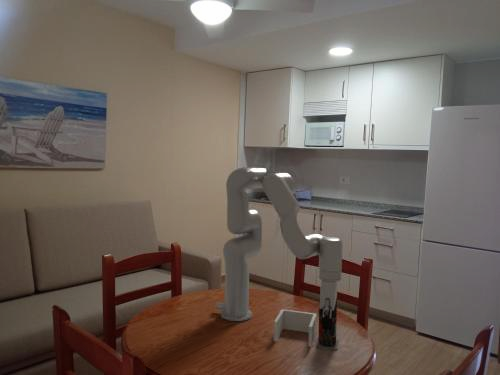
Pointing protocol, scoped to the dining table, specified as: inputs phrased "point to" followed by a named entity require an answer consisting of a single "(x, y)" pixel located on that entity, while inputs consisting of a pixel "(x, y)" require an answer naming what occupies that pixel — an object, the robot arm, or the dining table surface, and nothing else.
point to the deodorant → (327, 336)
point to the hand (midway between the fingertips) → (328, 323)
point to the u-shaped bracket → (295, 323)
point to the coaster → (328, 347)
